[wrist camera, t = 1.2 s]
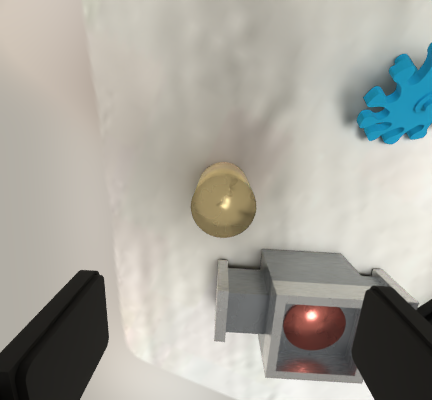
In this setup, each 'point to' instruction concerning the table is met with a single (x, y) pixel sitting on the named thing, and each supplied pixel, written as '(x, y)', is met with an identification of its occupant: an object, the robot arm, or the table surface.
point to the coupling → (223, 201)
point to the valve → (298, 311)
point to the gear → (401, 103)
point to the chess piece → (426, 311)
